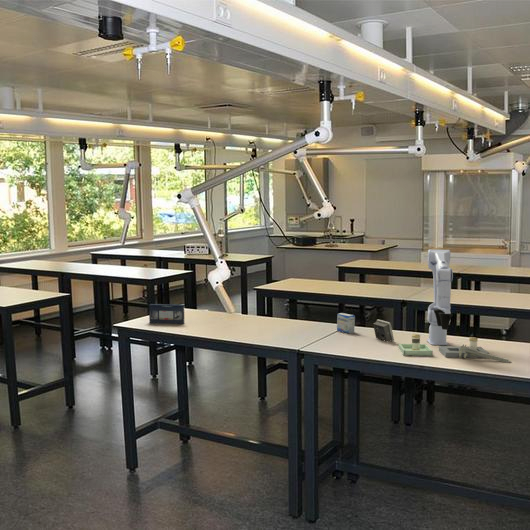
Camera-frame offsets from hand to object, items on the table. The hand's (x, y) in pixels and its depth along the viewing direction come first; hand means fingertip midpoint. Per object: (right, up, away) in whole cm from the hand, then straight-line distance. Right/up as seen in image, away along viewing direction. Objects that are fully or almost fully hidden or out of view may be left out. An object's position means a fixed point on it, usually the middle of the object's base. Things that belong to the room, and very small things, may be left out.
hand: (442, 327), depth 261 cm
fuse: (+12, -11, -4) cm, 17 cm away
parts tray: (-12, -11, -1) cm, 16 cm away
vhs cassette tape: (-128, -4, +56) cm, 140 cm away
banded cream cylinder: (-12, -10, -1) cm, 15 cm away
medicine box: (-37, -6, +39) cm, 54 cm away
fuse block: (+8, -11, -4) cm, 14 cm away
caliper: (+14, -13, -13) cm, 23 cm away
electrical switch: (-21, -8, +21) cm, 31 cm away
